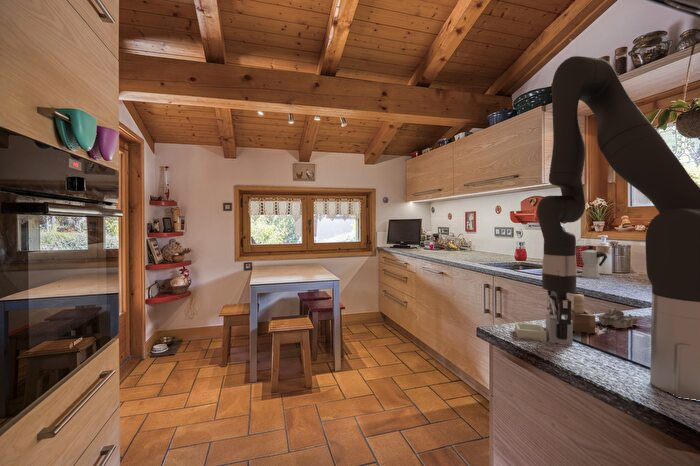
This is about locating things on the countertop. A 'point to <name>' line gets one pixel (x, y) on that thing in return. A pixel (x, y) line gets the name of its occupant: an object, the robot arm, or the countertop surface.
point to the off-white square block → (551, 330)
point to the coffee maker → (591, 262)
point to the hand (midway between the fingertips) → (557, 333)
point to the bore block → (583, 322)
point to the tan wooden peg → (578, 304)
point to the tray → (530, 331)
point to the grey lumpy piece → (617, 318)
